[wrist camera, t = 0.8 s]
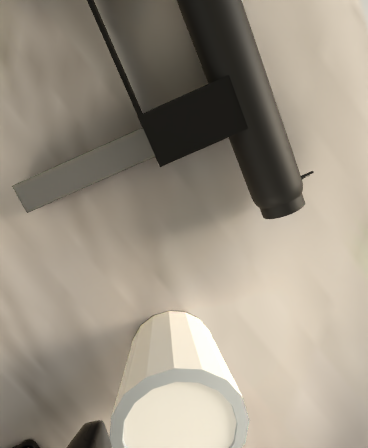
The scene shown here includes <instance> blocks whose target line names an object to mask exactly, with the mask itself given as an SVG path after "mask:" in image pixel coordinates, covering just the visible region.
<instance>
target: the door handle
mask: <svg viewBox="0 0 368 448" xmlns="http://www.w3.org/2000/svg"><path fill="white" fill-rule="evenodd" d="M87 1H88V4H89V6H90V8H91V10H92V13H93V15H94V17H95V20H96V22H97V24H98V26H99V29H100V31H101V33H102V35H103V38H104V40H105V42H106V45H107V47H108V49H109V51H110V54H111V56H112V58H113V61H114V63H115V65H116V67H117V70H118V72H119V74H120V76H121V79H122V81H123V83H124V86H125V88H126V90H127V92H128V95H129V97H130V99H131V101H132V104H133V106H134V108H135V111H136V113H137V115H138V118H139V120H140V123H141V125H142V127H143V128H141V129H138V130H136V131H134V132H132V133H129V134H127V135H125V136H123V137H120V138H118V139H116V140H114V141H112V142H109V143H107V144H105V145H103V146H100V147H98V148H96V149H94V150H91V151H89V152H87V153H85V154H82V155H80V156H78V157H76V158H74V159H71V160H69V161H67V162H65V163H62V164H60V165H58V166H56V167H53V168H51V169H49V170H47V171H44V172H42V173H40V174H38V175H35V176H33V177H31V178H29V179H27V180H24V181H22V182H20V183H18V184H15V185H13V186H12V187H13V189H14V190H15V192H16V194H17V196H18V198H19V199H20V201H21V203H22V205H23V207H24V208H25V210H26V212H27V213H28V212H30V211H33V210H35V209H37V208H40V207H42V206H44V205H46V204H49V203H51V202H53V201H55V200H58V199H60V198H62V197H64V196H67V195H69V194H71V193H74V192H76V191H78V190H80V189H83V188H85V187H87V186H89V185H92V184H94V183H96V182H99V181H101V180H103V179H105V178H108V177H110V176H112V175H114V174H117V173H119V172H121V171H124V170H126V169H128V168H130V167H133V166H135V165H137V164H139V163H142V162H144V161H146V160H149V159H151V158H153V157H156V159H157V161H158V164H159V166H160V167H161V166H164V165H166V164H168V163H171V162H173V161H175V160H177V159H180V158H182V157H184V156H187V155H189V154H191V153H193V152H196V151H198V150H200V149H203V148H205V147H207V146H209V145H212V144H214V143H216V142H219V141H221V140H223V139H225V138H228V137H229V139H230V142H231V145H232V147H233V150H234V153H235V155H236V158H237V160H238V163H239V166H240V168H241V171H242V174H243V176H244V179H245V182H246V184H247V187H248V189H249V192H250V195H251V197H252V199H253V201H254V203H255V204H256V205H257V206H258V207H259V208H260V210H261V213H262V215H263V218H265V219H275V218H280V217H283V216H287V215H289V214H292V213H294V212H296V211H298V210H299V209H301V208H302V207H303V206H304V205H305V201H304V198H303V195H302V190H303V183H302V179H303V177H304V178H306V177H308V176H307V175H309V176H310V174H312V173H314V172H313V171H311V172H309V173H307V174H304V175H302V176H300V173H299V170H298V167H297V164H296V161H295V158H294V155H293V152H292V149H291V146H290V143H289V140H288V137H287V134H286V131H285V128H284V125H283V122H282V119H281V116H280V113H279V110H278V107H277V105H276V102H275V99H274V96H273V93H272V90H271V87H270V84H269V81H268V78H267V75H266V72H265V69H264V66H263V63H262V60H261V57H260V54H259V51H258V48H257V45H256V42H255V39H254V36H253V33H252V30H251V27H250V24H249V21H248V18H247V15H246V12H245V10H244V7H243V4H242V1H241V0H177V2H178V5H179V8H180V10H181V13H182V16H183V18H184V21H185V24H186V26H187V29H188V31H189V34H190V37H191V39H192V42H193V45H194V47H195V50H196V52H197V55H198V58H199V60H200V63H201V66H202V68H203V71H204V74H205V76H206V79H207V81H208V85H205V86H203V87H201V88H199V89H197V90H194V91H192V92H190V93H188V94H185V95H183V96H181V97H179V98H177V99H174V100H172V101H170V102H168V103H165V104H163V105H161V106H159V107H157V108H154V109H152V110H150V111H148V112H145V113H142V110H141V108H140V106H139V104H138V101H137V99H136V97H135V94H134V92H133V90H132V87H131V85H130V83H129V81H128V78H127V76H126V74H125V71H124V69H123V67H122V64H121V62H120V60H119V58H118V55H117V53H116V51H115V48H114V46H113V44H112V42H111V39H110V37H109V35H108V32H107V30H106V28H105V25H104V23H103V21H102V19H101V16H100V14H99V12H98V9H97V7H96V5H95V2H94V0H87ZM305 176H306V177H305Z"/></svg>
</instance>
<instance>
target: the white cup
mask: <svg viewBox="0 0 368 448" xmlns="http://www.w3.org/2000/svg"><path fill="white" fill-rule="evenodd" d="M248 425H249V417H248V413H247V410H246V406H245V403H244V399H243V397H242V395H241V393H240V391H239V389H238V387H237V385H236V383H235V381H234V379H233V377H232V375H231V373H230V371H229V369H228V367H227V365H226V363H225V361H224V359H223V357H222V355H221V353H220V351H219V349H218V347H217V345H216V343H215V341H214V339H213V337H212V335H211V333H210V331H209V329H208V328H207V327H206V326H205V325H204V324H203V323H202V321H201V320H200V319H199V318H197V317H195V316H192V315H190V314H188V313H186V312H177V311H167V312H164V313H161V314H158V315H154V316H152V317H151V318H150V319H149V320H147V321H146V322H145V323H143V324H142V325H141V326H140V328H139V330H138V331H137V333H136V335H135V337H134V338H133V342H132V345H131V349H130V352H129V356H128V359H127V363H126V366H125V370H124V373H123V377H122V380H121V384H120V388H119V391H118V395H117V398H116V402H115V405H114V409H113V412H112V416H111V426H110V442H111V445H112V448H242V447H243V446H244V444H245V442H246V437H247V431H248Z"/></svg>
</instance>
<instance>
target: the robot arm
mask: <svg viewBox="0 0 368 448" xmlns="http://www.w3.org/2000/svg"><path fill="white" fill-rule="evenodd" d="M13 448H40V447H39V446H38V445H37V443H36V442H35V441H33V440H26V441H24V442H22V443H21V444H19V445H17V446H15V447H13ZM67 448H112V445H111V442H110V439H109V436H108V433H107V430H106V427H105V424H104V422H103V421H100V420H99V421H94V422H89V423H86V424H85V425H83V427H82V428H81V429H80V431H79V432H78V433H77V434H76V436H75V437H74V438H73V440H72V441H71V442H70V444H69V445H68V446H67Z"/></svg>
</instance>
